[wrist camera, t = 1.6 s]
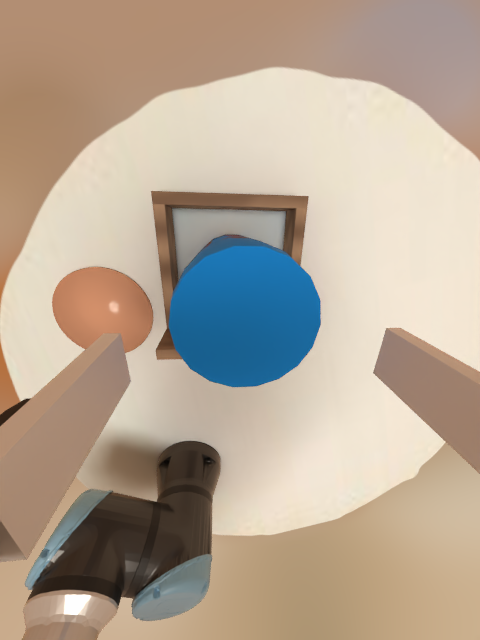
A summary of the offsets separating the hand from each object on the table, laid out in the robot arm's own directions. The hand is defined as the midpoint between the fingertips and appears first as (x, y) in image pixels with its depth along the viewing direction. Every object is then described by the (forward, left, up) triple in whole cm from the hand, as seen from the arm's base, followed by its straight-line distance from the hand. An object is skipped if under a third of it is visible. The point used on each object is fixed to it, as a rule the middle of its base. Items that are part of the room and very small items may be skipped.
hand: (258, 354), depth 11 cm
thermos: (0, 0, -29) cm, 29 cm away
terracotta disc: (-8, +22, -29) cm, 38 cm away
